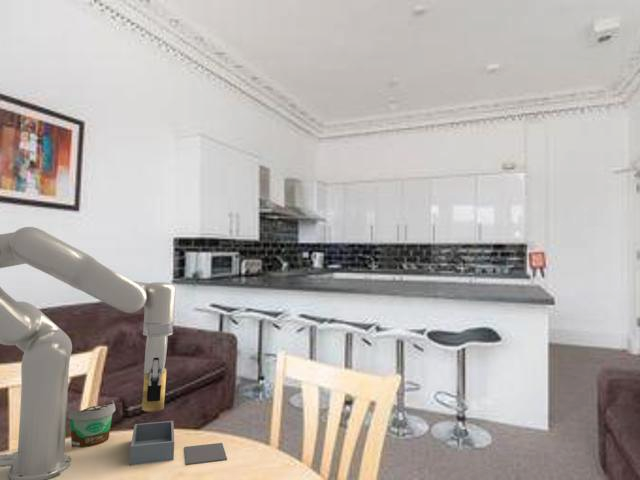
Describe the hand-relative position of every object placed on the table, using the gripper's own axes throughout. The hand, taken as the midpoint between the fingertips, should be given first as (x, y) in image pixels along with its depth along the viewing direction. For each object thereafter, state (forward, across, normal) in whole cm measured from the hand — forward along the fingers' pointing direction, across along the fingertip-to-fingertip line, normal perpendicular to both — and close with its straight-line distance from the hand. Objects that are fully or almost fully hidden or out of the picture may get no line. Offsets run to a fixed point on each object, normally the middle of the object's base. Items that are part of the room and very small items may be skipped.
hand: (153, 396), depth 115 cm
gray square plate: (+14, +6, +14) cm, 21 cm away
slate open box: (+14, 0, +1) cm, 14 cm away
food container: (+15, -9, -14) cm, 23 cm away
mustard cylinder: (+3, 0, 0) cm, 3 cm away
